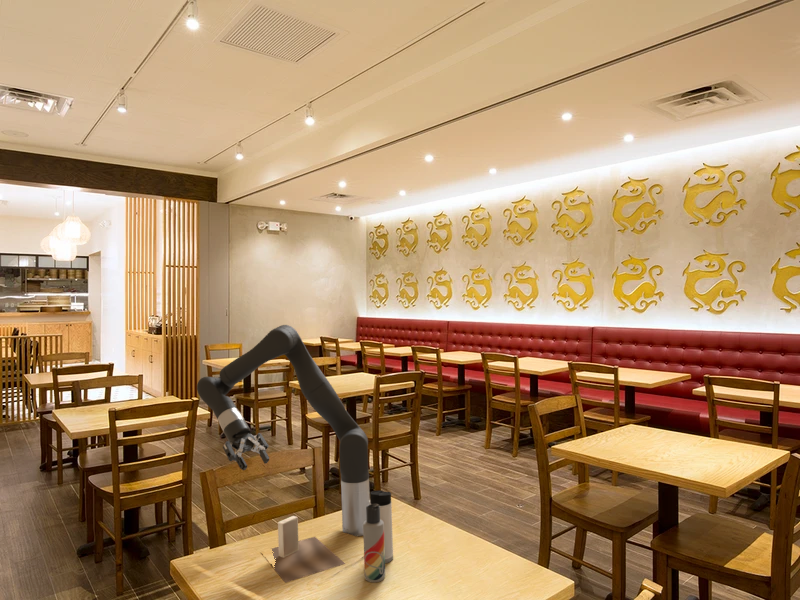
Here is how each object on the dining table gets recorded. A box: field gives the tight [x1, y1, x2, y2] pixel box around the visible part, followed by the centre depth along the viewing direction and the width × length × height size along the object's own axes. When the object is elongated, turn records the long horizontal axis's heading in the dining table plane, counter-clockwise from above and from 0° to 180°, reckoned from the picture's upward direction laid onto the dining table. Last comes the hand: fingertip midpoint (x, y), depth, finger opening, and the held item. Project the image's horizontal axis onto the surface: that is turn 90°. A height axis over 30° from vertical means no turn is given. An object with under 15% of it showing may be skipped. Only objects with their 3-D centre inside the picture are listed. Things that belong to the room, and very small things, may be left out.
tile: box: [277, 515, 299, 558], centre depth 162 cm, size 2×6×10 cm, turn 142°
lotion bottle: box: [362, 503, 386, 583], centre depth 148 cm, size 6×6×20 cm
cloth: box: [271, 536, 346, 583], centre depth 159 cm, size 18×22×1 cm
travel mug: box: [369, 490, 394, 564], centre depth 159 cm, size 6×7×20 cm
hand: (256, 465), depth 172 cm, fingers open, 8 cm apart
